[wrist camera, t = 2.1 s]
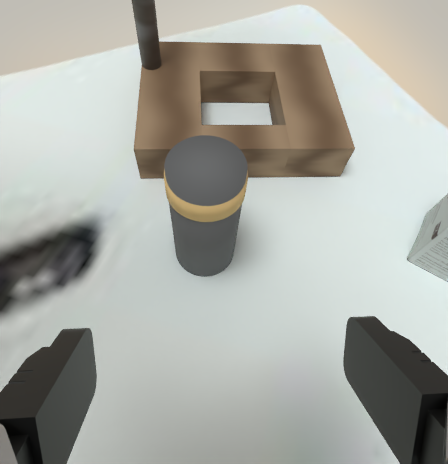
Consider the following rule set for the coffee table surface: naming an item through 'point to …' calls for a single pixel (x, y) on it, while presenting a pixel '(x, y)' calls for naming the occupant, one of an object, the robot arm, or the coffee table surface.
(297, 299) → the coffee table surface
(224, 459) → the coffee table surface
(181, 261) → the banded grey cylinder
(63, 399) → the robot arm
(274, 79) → the wooden gallows stand
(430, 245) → the skincare box
